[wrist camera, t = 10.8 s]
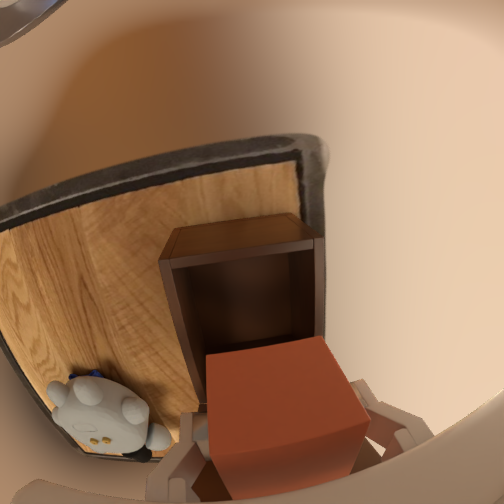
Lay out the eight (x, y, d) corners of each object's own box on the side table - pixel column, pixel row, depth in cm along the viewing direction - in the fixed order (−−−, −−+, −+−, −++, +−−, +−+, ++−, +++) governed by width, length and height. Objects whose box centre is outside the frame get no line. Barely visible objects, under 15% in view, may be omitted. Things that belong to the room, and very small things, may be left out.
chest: (173, 228, 27) (157, 260, 18) (291, 212, 28) (324, 236, 19) (200, 348, 32) (199, 404, 23) (296, 333, 33) (320, 383, 24)
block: (205, 354, 11) (208, 455, 6) (321, 334, 12) (371, 419, 7) (224, 422, 13) (234, 503, 8) (316, 405, 13) (348, 478, 9)
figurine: (35, 366, 29) (107, 435, 38) (17, 409, 21) (103, 473, 30) (122, 347, 30) (189, 426, 39) (109, 403, 22) (192, 470, 31)
